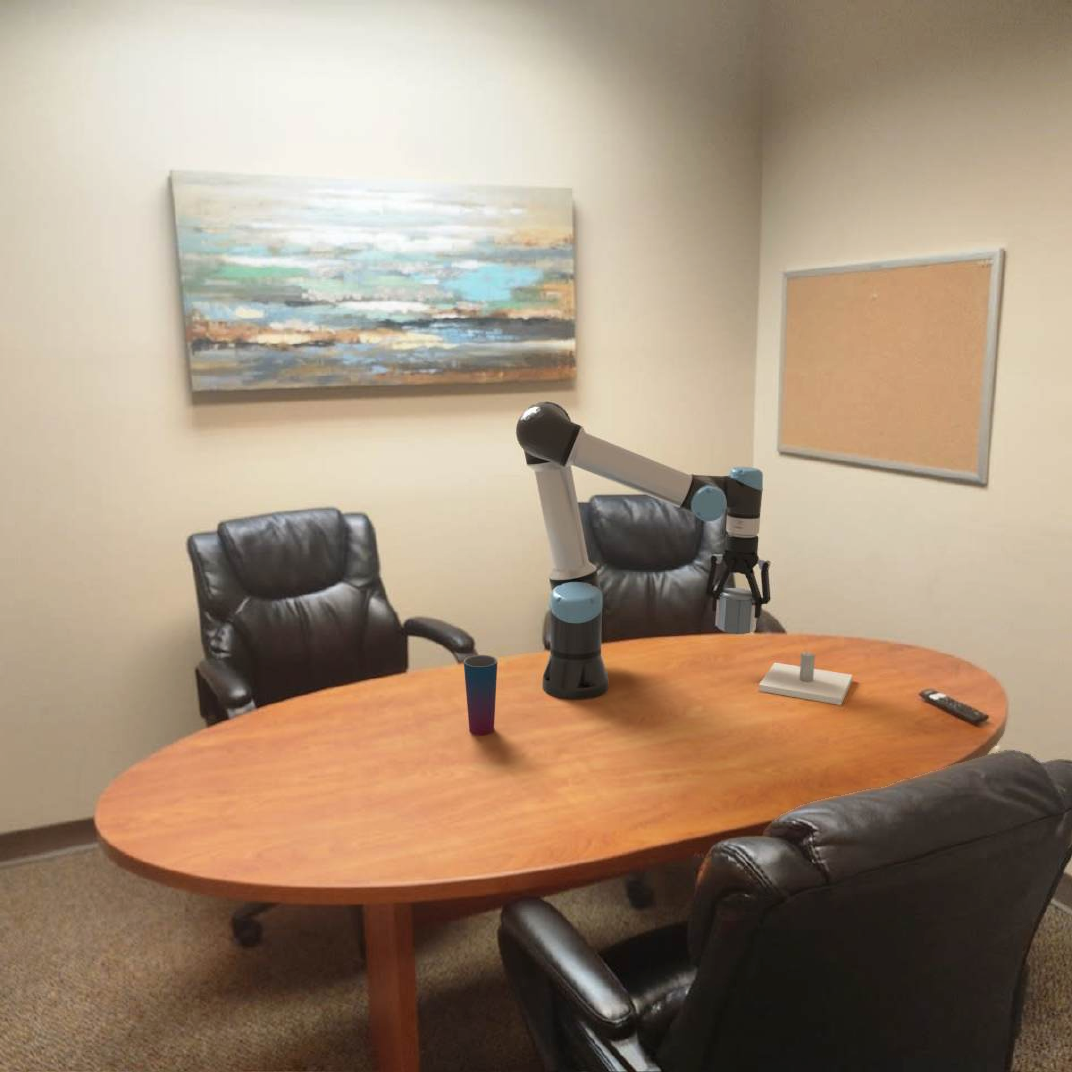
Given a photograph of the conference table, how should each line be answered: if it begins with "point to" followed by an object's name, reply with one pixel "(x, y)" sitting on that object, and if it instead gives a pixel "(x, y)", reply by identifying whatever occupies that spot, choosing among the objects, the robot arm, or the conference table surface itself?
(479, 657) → the cup
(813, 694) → the stud board
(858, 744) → the conference table surface
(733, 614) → the cap
